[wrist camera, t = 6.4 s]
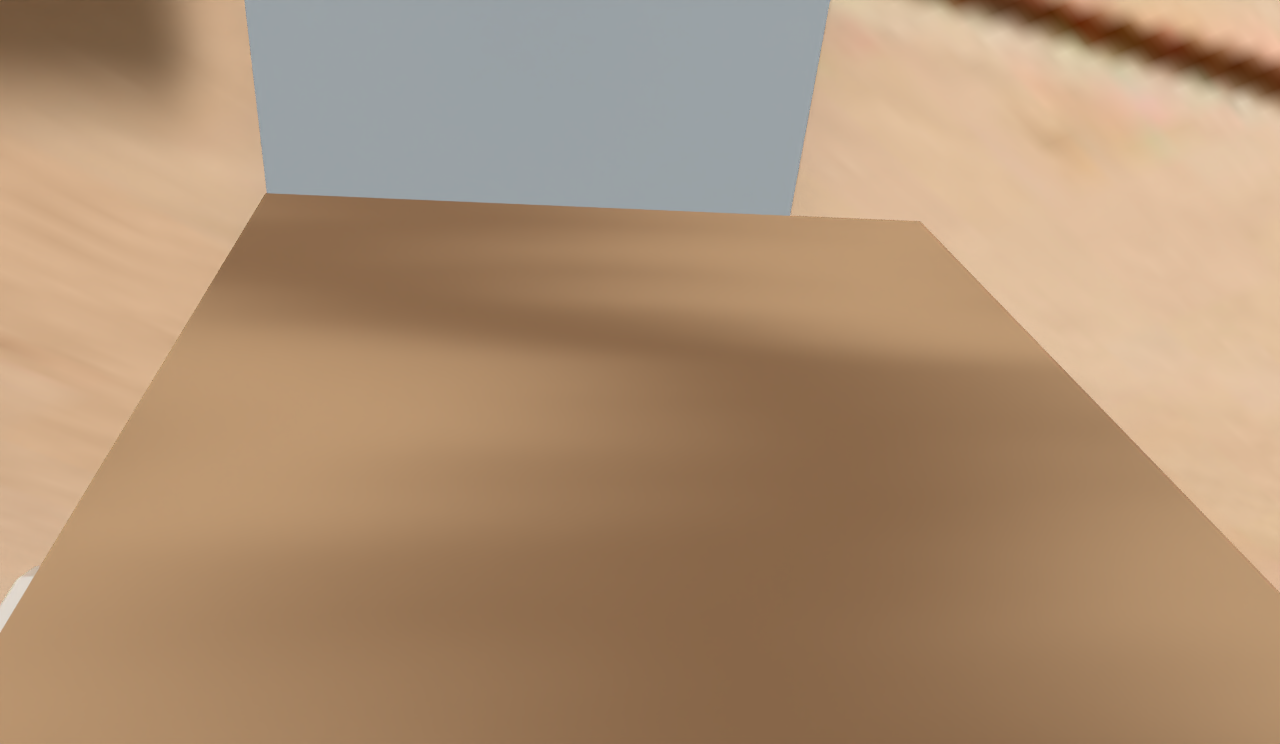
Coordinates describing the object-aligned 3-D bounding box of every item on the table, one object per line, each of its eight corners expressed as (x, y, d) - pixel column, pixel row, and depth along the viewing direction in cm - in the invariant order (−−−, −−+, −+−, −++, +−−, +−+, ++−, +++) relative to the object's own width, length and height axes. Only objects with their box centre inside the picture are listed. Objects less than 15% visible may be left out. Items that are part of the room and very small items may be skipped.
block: (322, 672, 11) (169, 1399, 6) (266, 194, 8) (-140, 860, 3) (805, 657, 12) (1022, 1281, 7) (919, 221, 9) (1451, 771, 4)
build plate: (293, 331, 24) (284, 356, 23) (230, -231, 18) (214, -232, 16) (754, 341, 25) (764, 364, 24) (844, -165, 19) (863, -163, 18)
